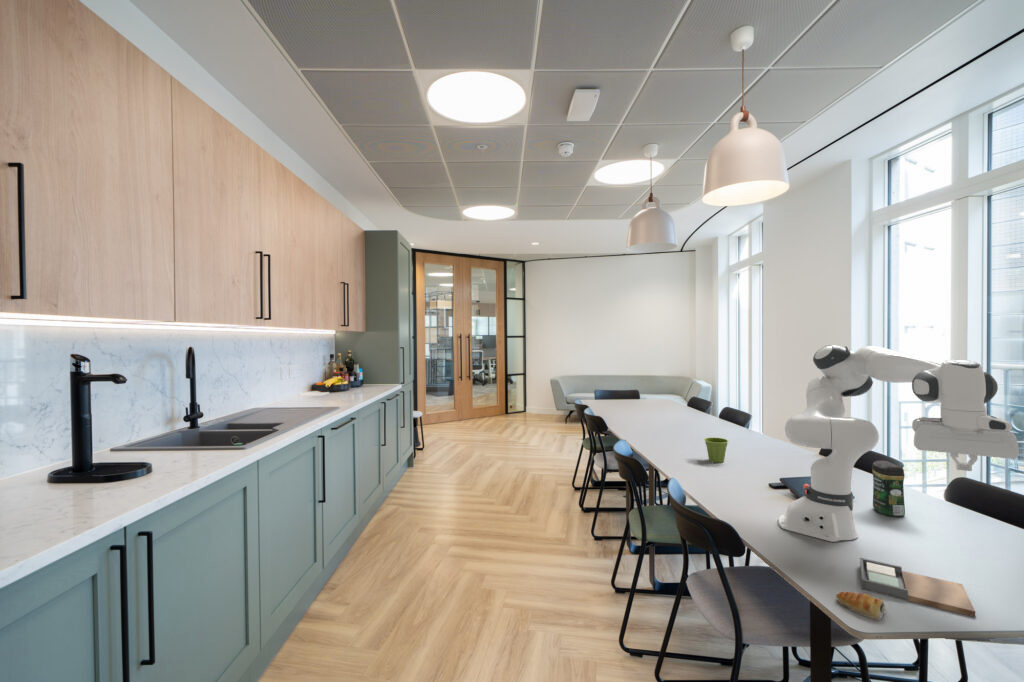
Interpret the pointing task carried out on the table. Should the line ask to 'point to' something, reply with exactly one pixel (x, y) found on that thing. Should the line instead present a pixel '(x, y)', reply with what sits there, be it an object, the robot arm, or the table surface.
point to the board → (937, 593)
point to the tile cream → (880, 570)
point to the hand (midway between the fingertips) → (963, 470)
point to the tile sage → (883, 579)
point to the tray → (879, 587)
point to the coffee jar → (888, 488)
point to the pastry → (863, 604)
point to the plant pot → (716, 449)
